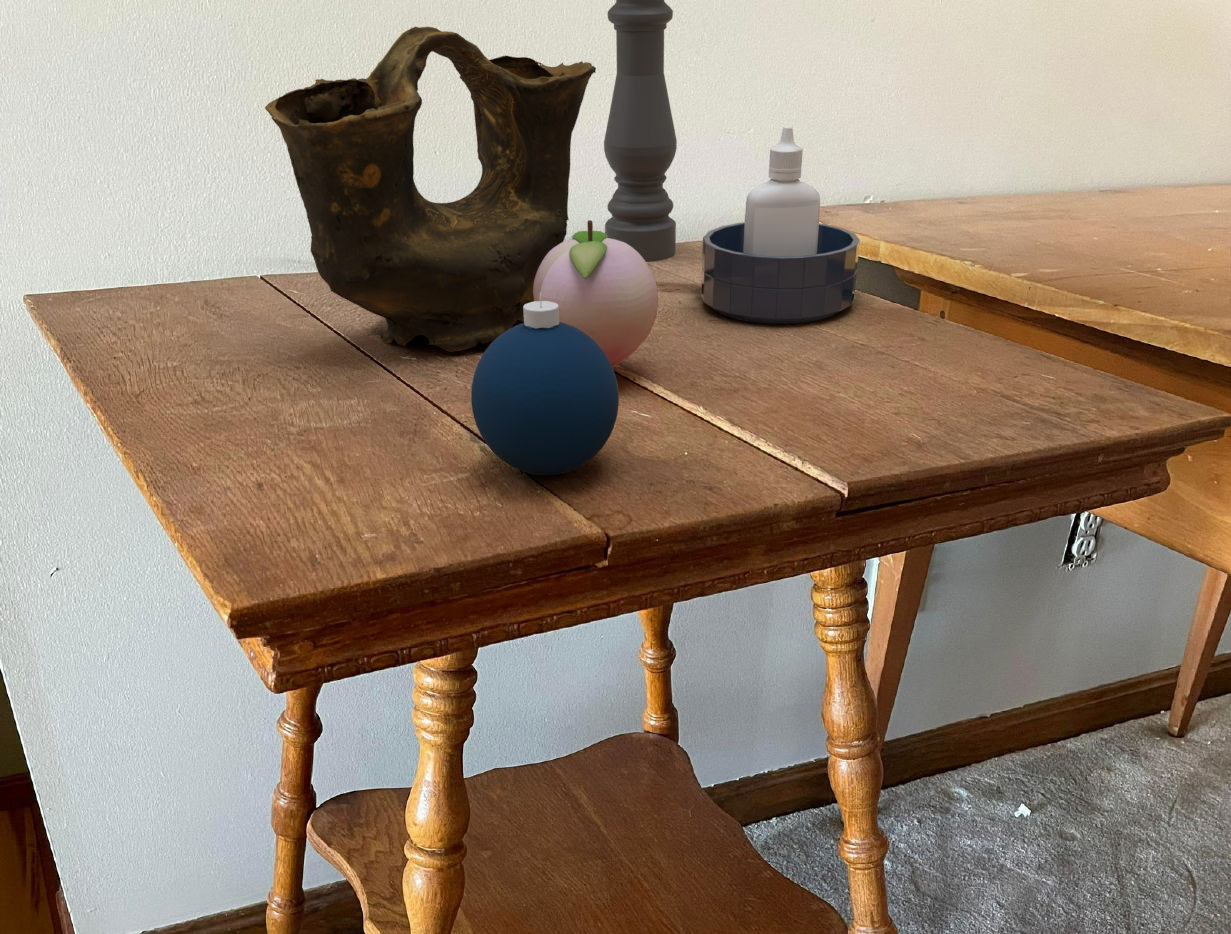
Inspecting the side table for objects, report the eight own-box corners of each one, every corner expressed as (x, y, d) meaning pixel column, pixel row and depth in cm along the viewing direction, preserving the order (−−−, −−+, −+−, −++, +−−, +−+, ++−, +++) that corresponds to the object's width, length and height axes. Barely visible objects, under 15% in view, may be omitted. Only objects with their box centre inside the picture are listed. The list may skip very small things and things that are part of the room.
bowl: (861, 289, 104) (868, 224, 101) (841, 332, 95) (847, 261, 92) (719, 281, 107) (721, 217, 104) (686, 321, 98) (687, 252, 95)
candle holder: (595, 269, 110) (587, -81, 95) (619, 252, 115) (616, -85, 100) (662, 275, 109) (665, -82, 93) (684, 257, 113) (690, -85, 98)
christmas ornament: (625, 495, 71) (623, 311, 65) (476, 501, 71) (461, 317, 65) (613, 441, 78) (611, 269, 72) (477, 446, 78) (463, 274, 71)
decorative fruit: (669, 394, 85) (671, 233, 79) (547, 402, 84) (540, 240, 78) (643, 351, 92) (643, 202, 86) (532, 358, 91) (524, 207, 85)
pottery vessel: (545, 287, 106) (532, 7, 94) (630, 315, 99) (629, 17, 87) (279, 352, 93) (225, 36, 81) (357, 388, 86) (311, 51, 74)
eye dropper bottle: (805, 307, 98) (818, 134, 91) (735, 301, 100) (743, 130, 93) (817, 292, 102) (831, 124, 94) (750, 287, 103) (758, 121, 96)
